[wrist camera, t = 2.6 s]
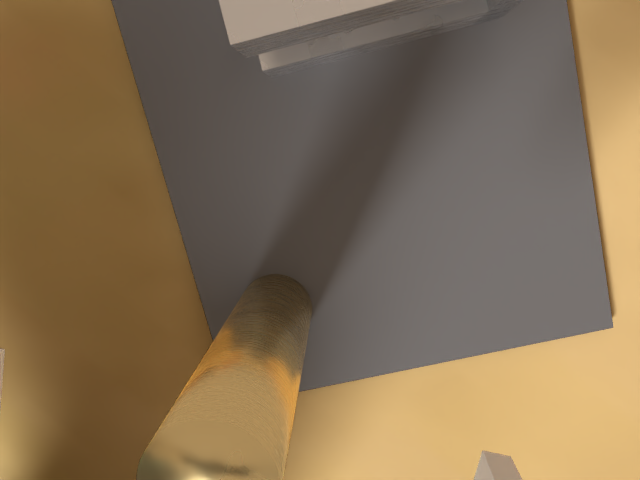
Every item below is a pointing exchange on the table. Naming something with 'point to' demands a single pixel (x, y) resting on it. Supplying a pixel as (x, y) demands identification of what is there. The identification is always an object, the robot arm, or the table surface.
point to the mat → (382, 184)
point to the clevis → (342, 26)
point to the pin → (239, 393)
